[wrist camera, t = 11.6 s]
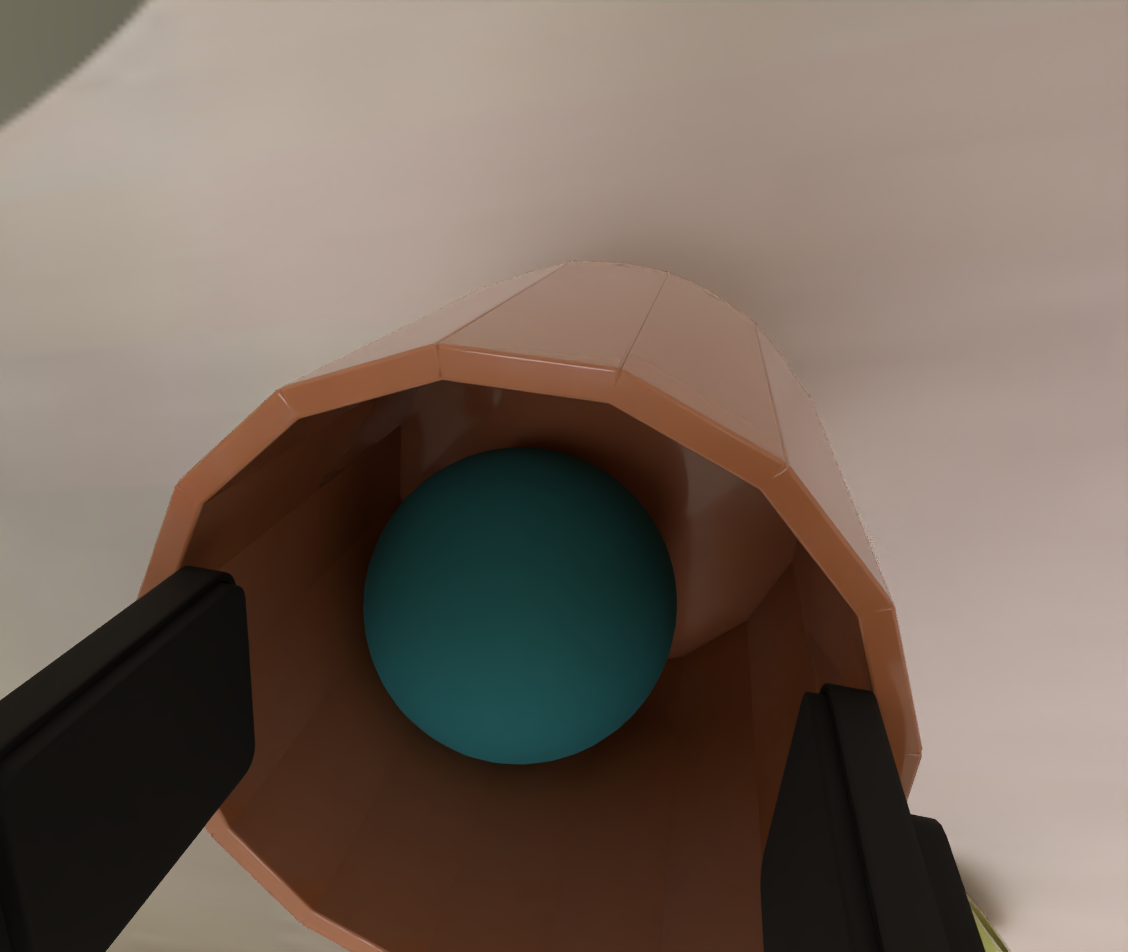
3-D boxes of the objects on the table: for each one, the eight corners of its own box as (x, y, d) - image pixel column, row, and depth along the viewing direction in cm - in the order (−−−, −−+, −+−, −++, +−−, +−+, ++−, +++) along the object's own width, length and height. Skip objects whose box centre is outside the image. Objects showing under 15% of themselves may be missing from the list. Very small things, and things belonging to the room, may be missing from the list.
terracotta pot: (868, 291, 16) (1033, 423, 8) (773, 697, 19) (813, 1087, 11) (397, 235, 17) (95, 296, 9) (391, 625, 21) (174, 928, 12)
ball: (736, 435, 14) (589, 713, 10) (708, 627, 18) (596, 874, 15) (454, 353, 16) (248, 561, 13) (487, 543, 21) (340, 740, 17)
